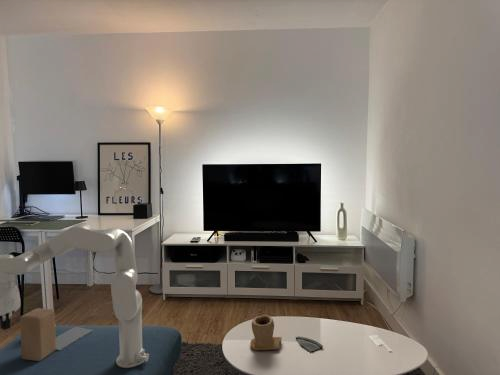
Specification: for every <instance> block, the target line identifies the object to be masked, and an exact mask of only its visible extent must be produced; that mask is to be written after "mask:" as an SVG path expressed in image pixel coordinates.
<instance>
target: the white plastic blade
mask: <svg viewBox="0 0 500 375" xmlns="http://www.w3.org/2000/svg"><path fill="white" fill-rule="evenodd" d="M368 337H369V338H370V340H372V342H373V343H374V344H375V346H377V347H382V346H383V347H384V349H386V350H387V351H388V353H392V352H393V350H392V349H391V348H390V347H389V346H388V345H387V344H386V342H385V341H383V340H382V338H380V337H379V336H378V334H370V335H369V336H368Z"/></svg>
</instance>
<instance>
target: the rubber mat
mask: <svg viewBox="0 0 500 375" xmlns="http://www.w3.org/2000/svg"><path fill="white" fill-rule="evenodd" d="M90 332H91V333H92V332H94V329H89V328H84V327H79V326H75V327H72V328H71V329H68V330H67V331H65V332H63V333H61V334H59V335H57V336H56V350H55V351H57V350H58V352H60V350H61V351H62V350H64V349H66V348H67V347H69V346H70V345H69V344H71V343H72V344H74V343H75V342H74V341H76V340H77V339H79V338H81V337H82V338H84V337H85V336H84V335H86V334H87V335H89V334H91V333H90ZM88 333H89V334H88ZM87 335H86V336H87ZM83 336H84V337H83ZM82 338H81V339H82ZM79 340H80V339H79ZM77 341H78V340H77ZM77 341H76V342H77ZM73 342H74V343H73ZM72 344H71V345H72ZM68 345H69V346H68ZM65 347H66V348H65ZM63 348H64V349H63Z"/></svg>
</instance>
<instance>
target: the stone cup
mask: <svg viewBox="0 0 500 375" xmlns="http://www.w3.org/2000/svg"><path fill="white" fill-rule="evenodd" d="M251 330H252V334H253V335H254V336H253V338H252V339H251V340H250V348H251V349H252V350H255V351H256V350H257V351H268V350H279V349H280V347H281V344H282V338H283V337H282V336H273V335H274V330H275V321H274V319H273V318H272V317H271V316H270V315H266V314H263V315H257V316H256V317H254V318H253V319H252V321H251Z"/></svg>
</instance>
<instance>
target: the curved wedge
mask: <svg viewBox="0 0 500 375" xmlns="http://www.w3.org/2000/svg"><path fill="white" fill-rule="evenodd" d="M295 340H296V341H297V343H298V344H299V347H301V348H302V349H304V350H305V351H307V352H308V353H310V354H312V353H314V352H317V351H319V350H321V349H323V347H324V345H322V344H321V343H320V342H318V341H317V340H314V339H311V338H309V337H305V336H295Z"/></svg>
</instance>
